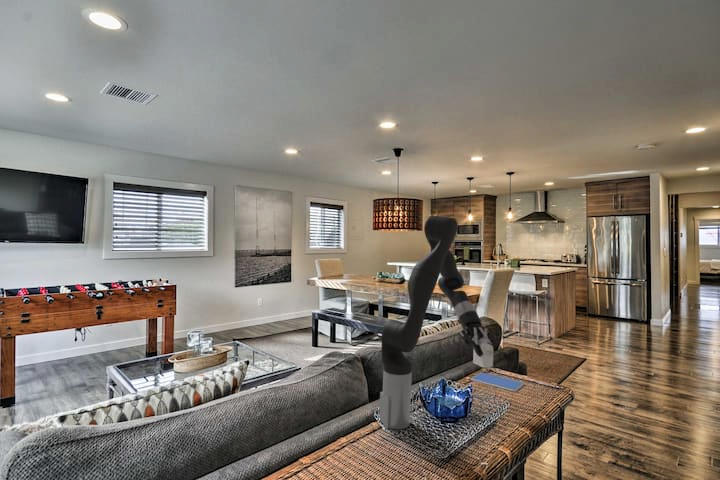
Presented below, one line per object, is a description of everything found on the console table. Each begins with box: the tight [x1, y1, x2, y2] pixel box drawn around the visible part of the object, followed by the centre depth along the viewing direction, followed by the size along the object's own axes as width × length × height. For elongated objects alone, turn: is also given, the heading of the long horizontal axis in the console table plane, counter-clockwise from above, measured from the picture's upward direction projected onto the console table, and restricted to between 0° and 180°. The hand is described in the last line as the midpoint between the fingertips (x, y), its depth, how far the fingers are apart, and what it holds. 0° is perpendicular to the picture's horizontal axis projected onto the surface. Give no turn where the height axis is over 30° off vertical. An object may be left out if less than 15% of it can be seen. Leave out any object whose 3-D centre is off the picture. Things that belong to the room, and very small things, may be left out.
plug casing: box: [472, 337, 494, 368], centre depth 140 cm, size 4×6×9 cm
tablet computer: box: [470, 372, 525, 393], centre depth 166 cm, size 19×13×1 cm, turn 50°
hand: (486, 354), depth 138 cm, fingers closed on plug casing, 4 cm apart
